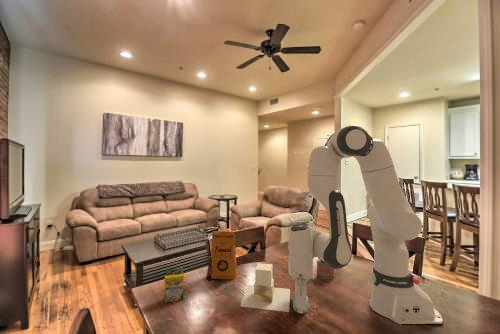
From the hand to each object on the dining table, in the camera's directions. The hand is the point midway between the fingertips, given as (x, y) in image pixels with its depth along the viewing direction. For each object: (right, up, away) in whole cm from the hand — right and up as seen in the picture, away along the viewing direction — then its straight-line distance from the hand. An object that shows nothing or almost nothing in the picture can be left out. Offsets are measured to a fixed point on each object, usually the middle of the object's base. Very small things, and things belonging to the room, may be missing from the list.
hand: (300, 306), depth 88 cm
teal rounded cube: (0, -2, 0) cm, 2 cm away
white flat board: (-12, -2, +7) cm, 14 cm away
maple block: (-13, -1, +7) cm, 15 cm away
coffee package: (-30, -2, +26) cm, 40 cm away
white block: (-13, +5, +7) cm, 16 cm away
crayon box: (-48, -2, +7) cm, 49 cm away
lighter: (+17, -2, +26) cm, 31 cm away
